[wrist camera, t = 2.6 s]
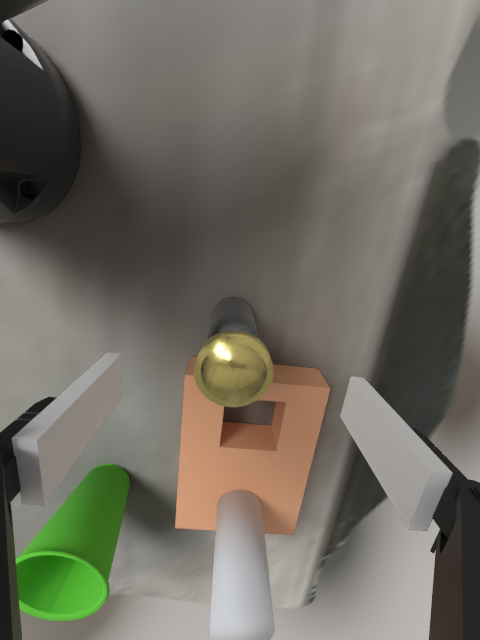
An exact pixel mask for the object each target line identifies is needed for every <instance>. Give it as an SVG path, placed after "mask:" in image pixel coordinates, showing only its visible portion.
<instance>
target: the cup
mask: <svg viewBox="0 0 480 640" xmlns="http://www.w3.org/2000/svg"><path fill="white" fill-rule="evenodd" d="M129 488H130V478H129V475H128V474H127V472H126V471H125V470H124V469H123V468H121V467H119V466H116V465H113V464H103V465H100V466H98V467H96V468H95V469H93V470H92V471H91V472H89V474H88V475H87V476H86V477H85V478H84V480H83V481H82V482H81V483H80V484H79V486H78V487H77V488H76V489H75V490H74V492H73V493H72V494H71V495H70V496H69V498H68V499H67V500H66V501H65V502H64V503H63V505H62V506H61V507H60V508H59V509H58V511H57V512H56V513H55V514H54V515H53V517H52V518H51V519H50V520H49V521H48V523H47V524H46V525H45V526H44V527H43V529H42V530H41V531H40V532H39V533H38V535H37V536H36V537H35V538H34V539H33V540H32V542H31V543H30V544H29V545H28V546H27V548H26V549H25V550H24V551H23V552H22V554H21V555H20V556H19V557H17V558H15V559H16V571H17V583H18V595H19V608H20V610H21V611H23V612H25V613H27V614H29V615H32V616H34V617H37V618H42V619H46V620H53V621H71V620H77V619H81V618H85V617H87V616H89V615H91V614H93V613H95V612H96V611H97V610H99V609H100V608H101V606H102V605H103V604H104V603H105V601H106V600H107V598H108V595H109V583H108V579H109V575H110V570H111V566H112V562H113V557H114V553H115V549H116V544H117V540H118V536H119V531H120V527H121V523H122V518H123V514H124V510H125V505H126V501H127V497H128V492H129Z"/></svg>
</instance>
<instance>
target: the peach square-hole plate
mask: <svg viewBox="0 0 480 640" xmlns="http://www.w3.org/2000/svg"><path fill="white" fill-rule="evenodd" d="M196 358H197V357H193V356H191V359H190V361H189V364H188V367H187V370H186V373H185V382H184V397H183V413H182V428H181V443H180V459H179V474H178V490H177V505H176V521H175V528H182V529H200V530H216V532H215V549H214V567H213V584H212V601H211V619H210V636H211V638H212V639H213V640H270V639H271V638H272V636H273V634H274V620H273V610H272V601H271V591H270V582H269V573H268V563H267V554H266V545H265V535H264V533H270V534H287V535H294V531H295V528H296V524H297V520H298V516H299V512H300V508H301V504H302V500H303V496H304V492H305V488H306V484H307V480H308V476H309V472H310V468H311V464H312V460H313V456H314V452H315V448H316V444H317V440H318V436H319V432H320V428H321V424H322V420H323V416H324V412H325V408H326V404H327V400H328V396H329V392H330V387H329V385H328V383H327V382H326V380H325V379H324V377H323V376H322V374H321V373H320V371H319V369H317V368H307V367H297V366H286V365H276V364H273V379H272V382H271V385H270V387H269V389H268V390H267V392H266V393H265V394H264V395H263V396H262V397H261V398H260V399H258V400H265V401H276V403H275V408H274V414H273V419H272V425H259V424H247V423H235V422H223V413H224V406H221V405H218V404H216V403H214V402H212V401H210V400H209V399H207V398H206V397H205V396H204V395H203V394H202V393H201V392H200V390H199V389H198V387H197V385H196V382H195V378H194V366H195V362H196Z"/></svg>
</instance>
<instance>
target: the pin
mask: <svg viewBox="0 0 480 640" xmlns="http://www.w3.org/2000/svg"><path fill="white" fill-rule="evenodd" d="M194 378H195V382H196V385H197V387H198V389H199V390H200V392H201V393H202V394H203V395H204V396H205V397H206V398H207V399H209V400H210V401H212V402H214V403H216V404H218V405H221V406H225V407H241V406H246V405H249V404H251V403H253V402H255V401H257V400H258V399H260V398H261V397H262V396H263V395H264V394H265V393H266V392H267V390H268V389H269V387H270V385H271V382H272V379H273V364H272V360H271V357H270V354H269V351H268V349H267V347H266V346H265V345H264V343H263V342H262V341H261V340H260V339H259V336H258V332H257V328H256V324H255V320H254V316H253V313H252V309H251V307H250V305H249V304H248V303H247V302H246V301H245V300H243V299H241V298H237V297H229V298H226V299H224V300H222V301H221V302H220V303H219V304H218V305H217V306H216V308H215V311H214V315H213V319H212V324H211V328H210V332H209V336H208V340H207V341H206V342H205V343H204V344H203V345H202V347H201V348H200V350H199V352H198V355H197V358H196V362H195V366H194Z"/></svg>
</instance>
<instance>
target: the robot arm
mask: <svg viewBox="0 0 480 640" xmlns="http://www.w3.org/2000/svg"><path fill="white" fill-rule="evenodd" d="M46 1H48V0H0V223H21V222H26V221H30V220H33V219H36V218H38V217H40V216H42V215H44V214H46V213H48V212H49V211H50V210H52V209H53V208H54V207H55V206H57V205H58V204H59V203H60V201H61V200H62V199H63V198H64V197H65V195H66V194H67V192H68V191H69V189H70V187H71V185H72V183H73V181H74V178H75V175H76V172H77V168H78V163H79V156H80V133H79V125H78V120H77V115H76V112H75V108H74V105H73V102H72V99H71V96H70V94H69V92H68V89H67V87H66V85H65V83H64V81H63V79H62V78H61V76H60V74H59V72H58V71H57V69H56V68H55V66H54V65H53V63H52V62H51V60H50V59H49V58H48V57H47V55H46V54H45V53H44V52H43V50H42V49H41V48H40V47H39V46H38V45H37V44H36V43H35V42H34V41H33V40H32V39H31V38H30V37H29V36H28V35H27V34H26V33H25V32H24V31H23V30H22V29H21V28H20V27H19V26H18V25H17V24H16V23H15V22H13V21H12V20H11V19H10V18H12V17H14V16H17V15H19V14H21V13H23V12H25V11H27V10H29V9H31V8H33V7H35V6H37V5H40V4H42V3H44V2H46ZM121 397H122V378H121V354H118V353H106V354H105V355H104V356H103V357H102V358H100V359H99V360H98V361H97V362H96V363H95V364H94V365H93V366H92V367H90V368H89V369H88V370H87V371H86V372H85V373H84V374H83V375H82V376H80V377H79V378H78V379H77V380H76V381H75V382H74V383H73V384H71V385H70V386H69V387H68V388H67V389H66V390H65V391H64V392H63V393H61V394H60V395H59V396H58V397H57V398H55V397H47V398H45V399H43V400H41V401H39V402H37V403H35V404H34V405H33V406H32V407H31V408H29V409H28V410H27V411H26V413H23V414H22V415H21V416H20V417H18V419H17V420H15V421H14V422H12V423H11V424H10V425H9V426H8V427H6V428H5V429H4V430H3V431H2V432H0V640H22V632H21V620H20V608H19V595H18V583H17V571H16V559H15V547H14V535H13V523H12V510H11V504H10V502H11V501H12V500H13V499H14V497H15V496H16V495H17V494H18V493H19V492H20V496H21V503H22V504H27V505H42V506H45V505H46V503H47V502H48V500H49V499H50V497H51V496H52V495H53V493H54V492H55V490H56V489H57V488H58V486H59V485H60V483H61V482H62V481H63V479H64V478H65V476H66V475H67V473H68V472H69V471H70V469H71V468H72V466H73V465H74V464H75V462H76V461H77V459H78V458H79V457H80V455H81V454H82V452H83V451H84V450H85V448H86V447H87V445H88V444H89V442H90V441H91V440H92V438H93V437H94V435H95V434H96V433H97V431H98V430H99V428H100V427H101V426H102V424H103V423H104V421H105V420H106V418H107V417H108V416H109V414H110V413H111V411H112V410H113V409H114V407H115V406H116V404H117V403H118V402H119V400H120V399H121ZM340 417H341V419H342V421H343V422H344V424H345V426H346V427H347V429H348V431H349V432H350V434H351V436H352V437H353V439H354V441H355V442H356V444H357V446H358V447H359V449H360V451H361V452H362V454H363V456H364V457H365V459H366V461H367V462H368V464H369V466H370V467H371V469H372V471H373V472H374V474H375V476H376V477H377V479H378V481H379V482H380V484H381V486H382V487H383V489H384V491H385V492H386V494H387V496H388V497H389V499H390V501H391V502H392V504H393V506H394V507H395V509H396V511H397V512H398V514H399V516H400V517H401V519H402V521H403V522H404V524H405V526H406V528H407V529H408V530H421V531H427V530H428V528H429V526H430V523H431V521H432V519H434V521H435V522H436V524H437V525H438V526H439V528H440V531H439V533H438V535H437V537H436V539H435V542H434V544H433V546H432V548H431V552H432V553H434V552H435V550H436V555H435V568H434V581H433V594H432V607H431V621H430V633H429V640H480V483H479V482H476V481H473V480H468V479H467V478H466V477H465V476H464V475H463V474H462V473H461V472H460V471H459V470H458V469H457V468H456V467H455V466H454V465H453V464H452V463H451V462H450V461H449V460H448V458H447V457H446V456H444V455H443V454H442V452H441V451H440V450H439V449H438V448H437V447H435V445H434V444H433V443H432V442H431V441H430V440H429V439H428V438H427V437H426V436H425V435H423V434H422V433H420V432H419V431H417V430H416V429H415V428H410V427H409V426H408V425H407V424H406V423H405V421H404V420H403V419H402V418H401V417H400V416H399V415H398V414H397V413H396V412H395V411H394V410H393V409H392V408H391V407H390V405H389V404H388V403H387V402H386V401H385V400H384V399H383V398H382V397H381V396H380V395H379V394H378V393H377V392H376V390H375V389H374V388H373V387H372V386H371V385H370V384H369V383H368V382H367V381H366V380H365V379H364V378H362V377H352V376H351V377H350V381H349V385H348V389H347V392H346V396H345V400H344V404H343V407H342V411H341V415H340Z"/></svg>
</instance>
